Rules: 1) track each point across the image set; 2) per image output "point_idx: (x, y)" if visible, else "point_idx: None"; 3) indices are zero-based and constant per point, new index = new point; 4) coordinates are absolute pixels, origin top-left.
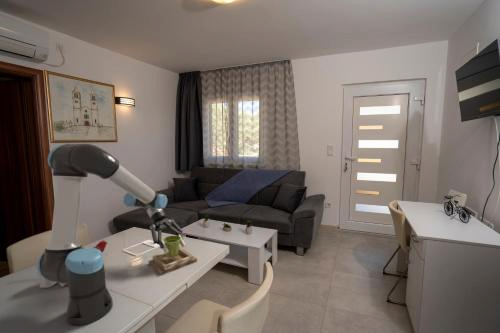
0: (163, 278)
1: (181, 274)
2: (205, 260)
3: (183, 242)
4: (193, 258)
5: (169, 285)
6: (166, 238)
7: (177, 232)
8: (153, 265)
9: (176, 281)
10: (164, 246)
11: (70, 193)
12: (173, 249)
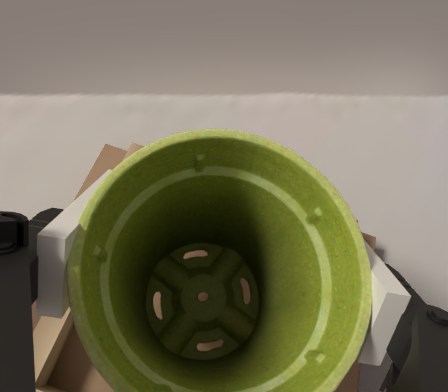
0: (370, 199)
1: (283, 140)
2: (75, 116)
3: None
4: (113, 167)
5: (384, 127)
6: None
7: (29, 270)
8: (355, 376)
9: (343, 120)
10: (366, 248)
11: None
12: (253, 217)
